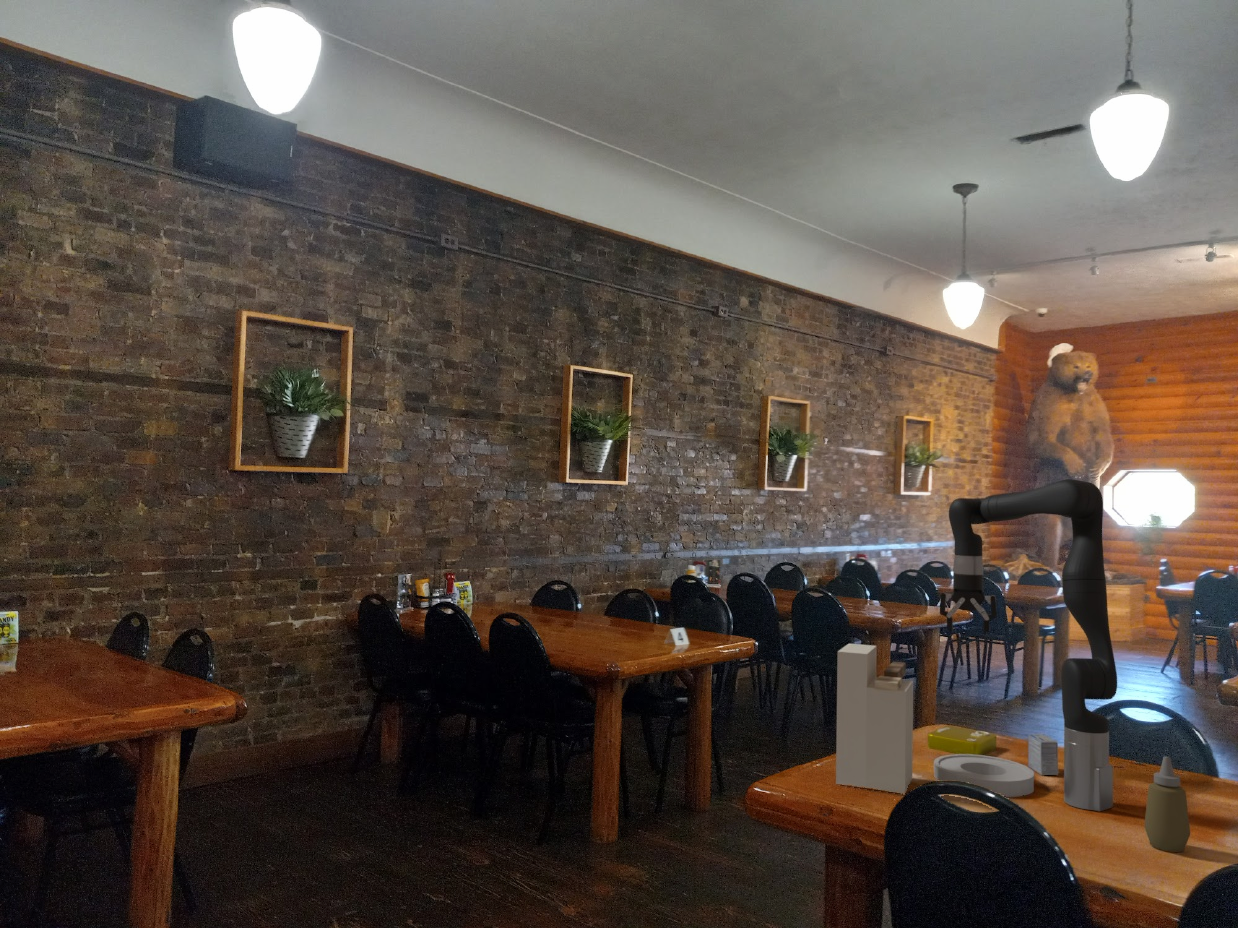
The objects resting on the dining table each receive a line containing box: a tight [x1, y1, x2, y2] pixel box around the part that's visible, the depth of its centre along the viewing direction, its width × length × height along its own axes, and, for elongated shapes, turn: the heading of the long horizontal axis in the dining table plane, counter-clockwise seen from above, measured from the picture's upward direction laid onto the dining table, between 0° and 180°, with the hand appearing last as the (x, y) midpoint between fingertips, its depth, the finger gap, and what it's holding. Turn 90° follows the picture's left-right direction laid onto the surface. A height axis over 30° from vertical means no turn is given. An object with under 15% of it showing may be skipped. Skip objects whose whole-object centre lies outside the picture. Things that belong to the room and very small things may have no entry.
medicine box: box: [1027, 733, 1059, 776], centre depth 237 cm, size 8×4×9 cm, turn 179°
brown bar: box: [875, 661, 907, 691], centre depth 229 cm, size 24×5×3 cm, turn 156°
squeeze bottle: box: [1143, 755, 1191, 853], centre depth 185 cm, size 8×8×18 cm
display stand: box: [835, 643, 914, 796], centre depth 226 cm, size 15×16×32 cm
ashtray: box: [933, 753, 1035, 798], centre depth 227 cm, size 23×23×4 cm
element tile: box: [927, 725, 997, 756], centre depth 259 cm, size 15×15×5 cm
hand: (967, 632), depth 246 cm, fingers open, 8 cm apart
